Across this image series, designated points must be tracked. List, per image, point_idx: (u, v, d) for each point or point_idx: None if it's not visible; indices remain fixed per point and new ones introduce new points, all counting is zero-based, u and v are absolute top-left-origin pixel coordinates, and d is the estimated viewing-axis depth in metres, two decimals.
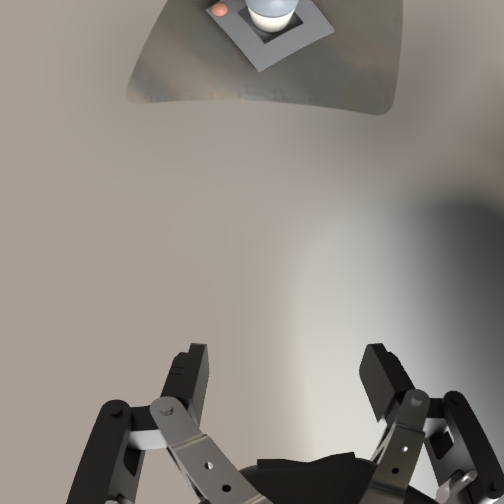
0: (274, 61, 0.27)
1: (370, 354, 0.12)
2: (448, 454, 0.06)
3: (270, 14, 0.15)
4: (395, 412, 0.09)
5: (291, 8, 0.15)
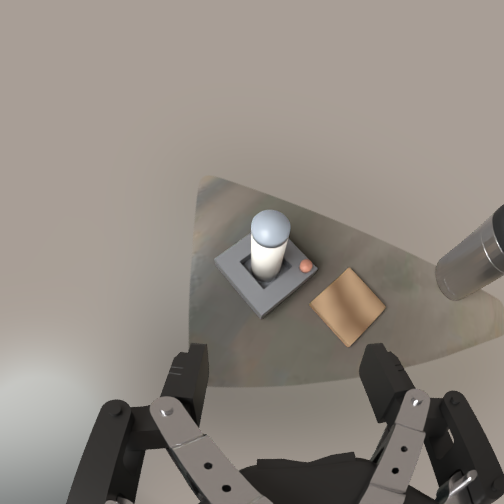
0: (224, 269, 0.41)
1: (370, 354, 0.12)
2: (448, 454, 0.06)
3: (252, 226, 0.31)
4: (395, 412, 0.09)
5: (259, 239, 0.30)
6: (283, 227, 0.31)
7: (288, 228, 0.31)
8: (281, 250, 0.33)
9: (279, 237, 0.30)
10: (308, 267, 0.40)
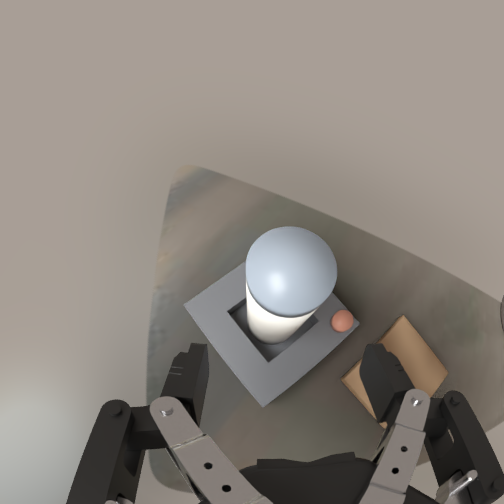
0: (200, 324, 0.23)
1: (370, 354, 0.12)
2: (448, 454, 0.06)
3: (247, 266, 0.13)
4: (395, 412, 0.09)
5: (265, 300, 0.12)
6: (321, 270, 0.13)
7: (332, 272, 0.13)
8: (310, 315, 0.15)
9: (311, 295, 0.12)
10: (346, 324, 0.22)
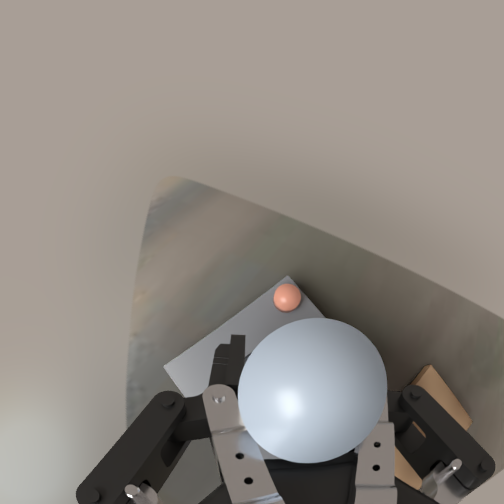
0: (185, 392, 0.16)
1: None
2: (422, 448, 0.07)
3: (241, 395, 0.07)
4: None
5: (270, 448, 0.06)
6: (363, 393, 0.07)
7: (380, 394, 0.07)
8: None
9: (345, 436, 0.06)
10: None
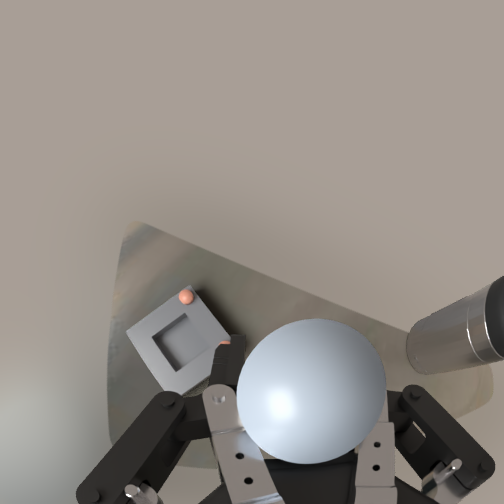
0: (135, 345, 0.32)
1: None
2: (422, 448, 0.07)
3: (240, 396, 0.07)
4: None
5: (268, 449, 0.06)
6: (362, 394, 0.07)
7: (379, 395, 0.07)
8: None
9: (344, 437, 0.06)
10: None
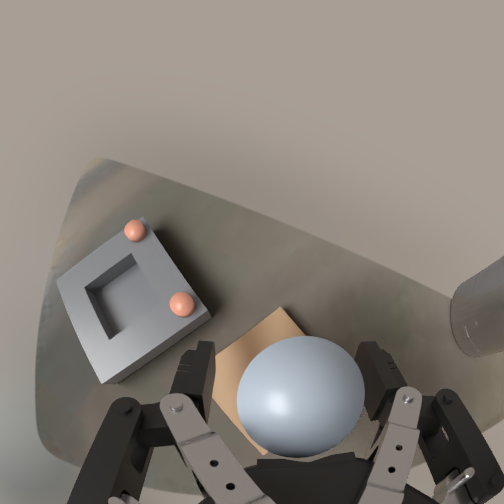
0: (64, 298, 0.21)
1: (363, 352, 0.12)
2: (443, 452, 0.06)
3: (239, 400, 0.08)
4: (387, 409, 0.09)
5: (263, 444, 0.07)
6: (343, 400, 0.08)
7: (358, 401, 0.08)
8: None
9: (327, 435, 0.07)
10: (184, 308, 0.20)
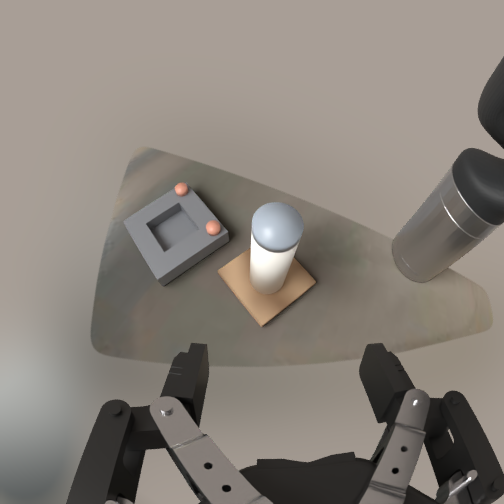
0: (130, 231, 0.36)
1: (370, 354, 0.12)
2: (448, 454, 0.06)
3: (253, 222, 0.23)
4: (395, 412, 0.09)
5: (262, 239, 0.23)
6: (294, 225, 0.23)
7: (301, 227, 0.23)
8: (290, 255, 0.25)
9: (288, 238, 0.23)
10: (214, 228, 0.35)
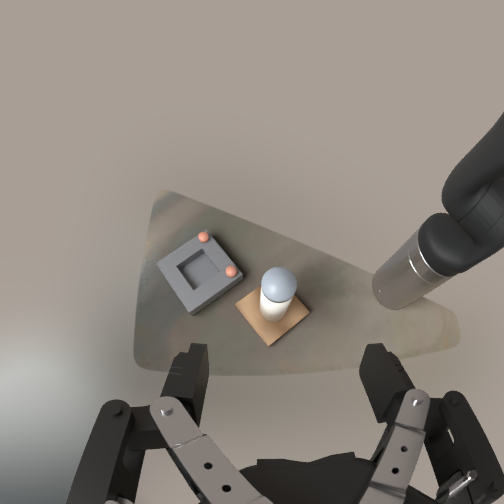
0: (163, 272, 0.47)
1: (370, 354, 0.12)
2: (448, 454, 0.06)
3: (262, 283, 0.34)
4: (395, 412, 0.09)
5: (268, 296, 0.33)
6: (290, 284, 0.34)
7: (295, 285, 0.34)
8: (288, 302, 0.36)
9: (286, 294, 0.33)
10: (232, 272, 0.46)
